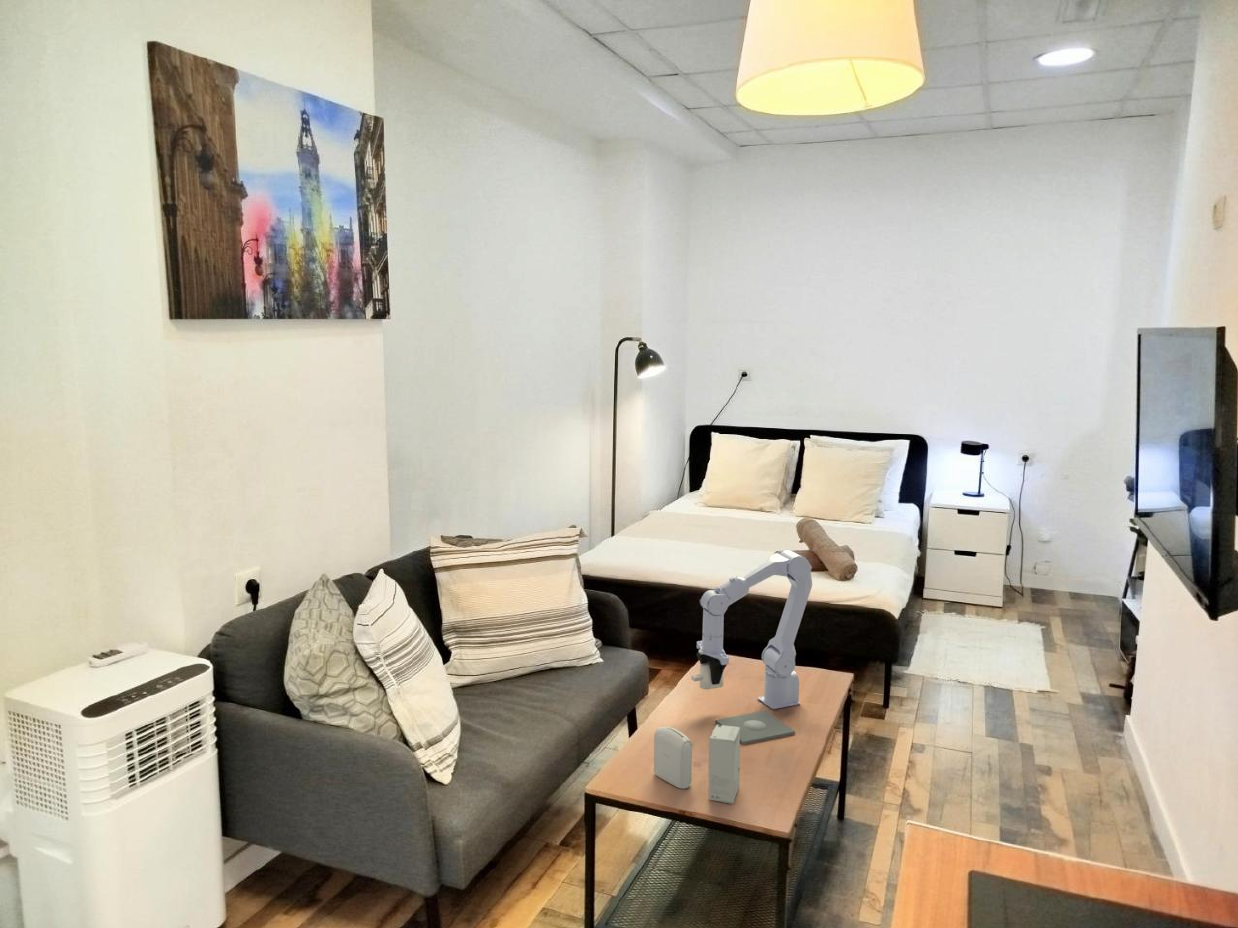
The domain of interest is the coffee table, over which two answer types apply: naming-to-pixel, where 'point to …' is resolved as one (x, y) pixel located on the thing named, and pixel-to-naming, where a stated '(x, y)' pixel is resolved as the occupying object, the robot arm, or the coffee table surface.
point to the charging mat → (757, 726)
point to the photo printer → (673, 757)
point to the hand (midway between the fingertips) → (711, 680)
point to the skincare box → (724, 763)
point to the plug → (706, 678)
